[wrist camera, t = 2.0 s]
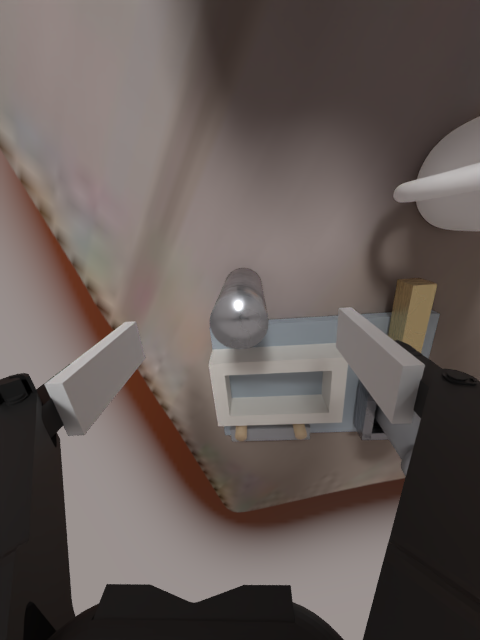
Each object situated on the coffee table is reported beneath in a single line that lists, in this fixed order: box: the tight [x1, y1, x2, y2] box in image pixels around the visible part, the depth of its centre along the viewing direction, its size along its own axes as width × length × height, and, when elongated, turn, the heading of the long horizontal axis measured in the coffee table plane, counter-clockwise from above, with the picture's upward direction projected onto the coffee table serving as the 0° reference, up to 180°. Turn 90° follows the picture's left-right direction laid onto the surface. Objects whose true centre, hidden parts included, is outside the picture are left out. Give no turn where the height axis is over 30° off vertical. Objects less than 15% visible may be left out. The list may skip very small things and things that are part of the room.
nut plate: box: [209, 310, 440, 476], centre depth 25 cm, size 16×24×10 cm, turn 95°
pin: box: [210, 268, 269, 349], centre depth 21 cm, size 4×4×10 cm
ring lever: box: [353, 278, 437, 440], centre depth 25 cm, size 18×7×2 cm, turn 5°
